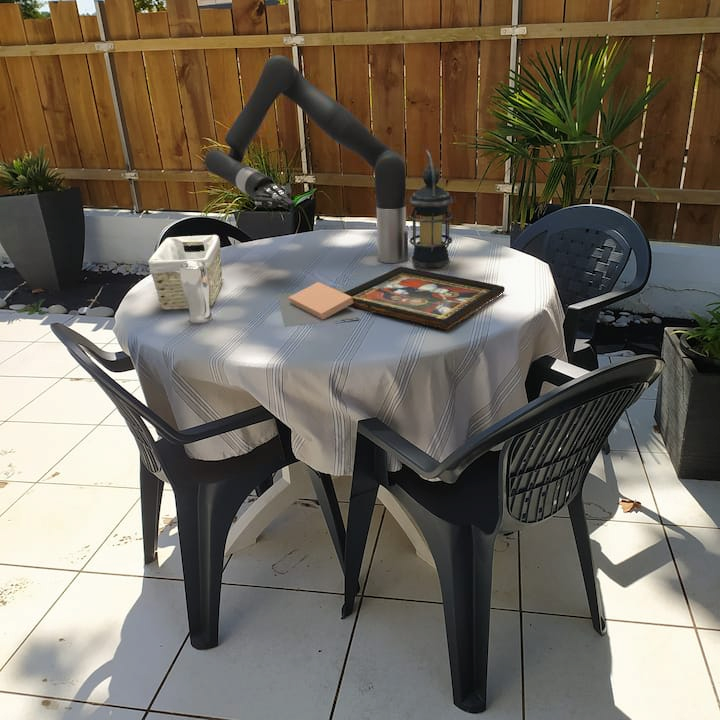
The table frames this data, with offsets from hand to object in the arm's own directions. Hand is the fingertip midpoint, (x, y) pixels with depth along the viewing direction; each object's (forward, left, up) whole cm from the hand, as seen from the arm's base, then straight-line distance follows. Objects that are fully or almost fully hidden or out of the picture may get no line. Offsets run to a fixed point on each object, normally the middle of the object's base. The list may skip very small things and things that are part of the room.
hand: (292, 206), depth 180 cm
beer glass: (+28, +16, -24) cm, 40 cm away
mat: (-3, +16, -24) cm, 29 cm away
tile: (0, +11, -21) cm, 24 cm away
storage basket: (+31, -3, -24) cm, 39 cm away
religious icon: (-31, +19, -24) cm, 44 cm away
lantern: (-42, -9, -24) cm, 49 cm away
